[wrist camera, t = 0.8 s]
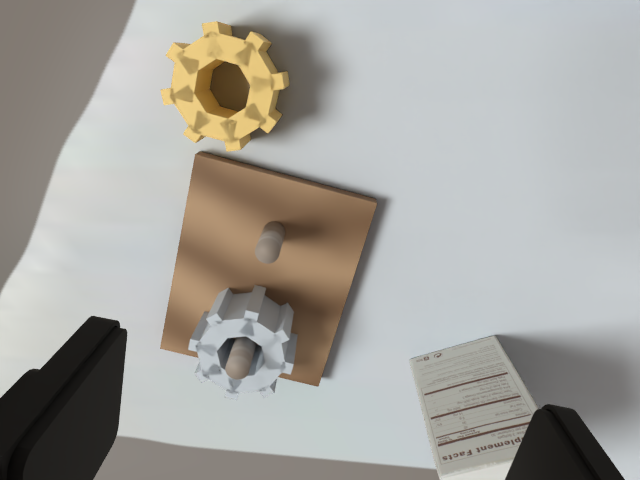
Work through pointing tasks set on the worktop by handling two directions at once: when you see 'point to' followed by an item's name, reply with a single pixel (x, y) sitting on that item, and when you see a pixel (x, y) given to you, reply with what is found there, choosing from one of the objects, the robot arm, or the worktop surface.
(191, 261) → the gear board
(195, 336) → the slate gear
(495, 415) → the supplement box
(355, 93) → the worktop surface
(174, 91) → the ochre gear
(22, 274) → the worktop surface
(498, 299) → the worktop surface
